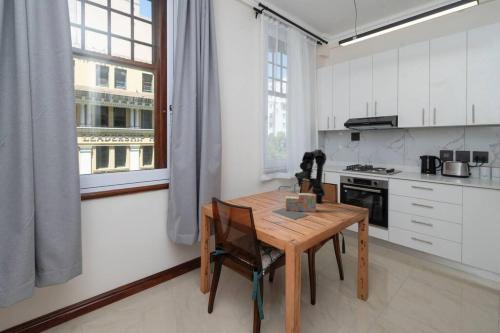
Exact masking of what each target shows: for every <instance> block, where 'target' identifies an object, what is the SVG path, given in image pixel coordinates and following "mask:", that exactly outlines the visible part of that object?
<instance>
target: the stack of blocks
mask: <svg viewBox="0 0 500 333" xmlns="http://www.w3.org/2000/svg"><path fill="white" fill-rule="evenodd" d="M284 204H285V207H284V208H285V209H286V210H288V211H298V212H304V213H305V212H308V213H310V212H311V213H316V211H317V210H316V209H317V208H316V207H317V203H316V195H315V194H313V193H312V192H311V193H309V192H307V193H305V192H301V193H300V192H298V193H297V196H285V202H284Z"/></svg>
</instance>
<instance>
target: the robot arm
mask: <svg viewBox="0 0 500 333" xmlns="http://www.w3.org/2000/svg"><path fill="white" fill-rule="evenodd" d="M326 161H327V155H326V153H324V152H323V150H322V149H315V150H313V151H305V152H304V153H303V155H302V159H301V162H300V163H299V168H300V169H301V170H302V171H299V172H295V174H294V177H295V179H296V180H297V185H298V187H299V188H301V185H302V183H303V180H304V179H305V180H306V181H307V180H308V189H307V191H308V192H309V191H311V190H312V192H311V193H312V194H315V195H316V204H323V203H325V201H323V197H325V196H326V192H325V189H324V185H323V183H322V182H323V181H322V180H323V171H324V165H325V164H326ZM314 163H315V164H316V165H317V166H316V173H315V174H316V175H315V177H313V176H312V173H314V171H313V168H314Z"/></svg>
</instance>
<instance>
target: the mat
mask: <svg viewBox="0 0 500 333" xmlns="http://www.w3.org/2000/svg"><path fill="white" fill-rule="evenodd" d="M271 212H272V213H275V214H278V215H281V216H284V217H286V218H289V219H293V220H297V219H301V218H304V217H308V216H309V214H308V213H305V212H302V211H288V210H286V209H285V207H283V208H280V209H275V210H271Z"/></svg>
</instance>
